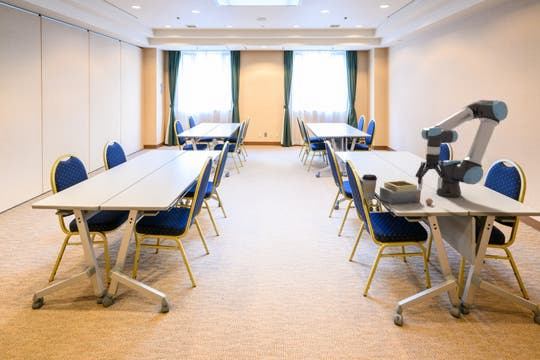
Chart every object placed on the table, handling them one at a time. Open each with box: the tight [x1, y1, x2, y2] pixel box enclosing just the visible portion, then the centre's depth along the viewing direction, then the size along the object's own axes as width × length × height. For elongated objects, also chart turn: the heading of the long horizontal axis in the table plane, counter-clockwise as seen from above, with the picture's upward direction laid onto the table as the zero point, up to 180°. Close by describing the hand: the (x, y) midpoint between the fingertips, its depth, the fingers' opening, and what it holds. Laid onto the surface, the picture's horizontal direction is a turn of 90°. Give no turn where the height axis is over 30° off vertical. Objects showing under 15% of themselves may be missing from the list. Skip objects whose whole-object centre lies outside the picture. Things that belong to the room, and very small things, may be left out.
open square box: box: [378, 180, 422, 206], centre depth 272 cm, size 20×14×11 cm
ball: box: [425, 197, 434, 206], centre depth 264 cm, size 4×4×4 cm
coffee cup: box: [361, 174, 378, 201], centre depth 276 cm, size 9×9×15 cm
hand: (429, 188), depth 262 cm, fingers open, 13 cm apart
